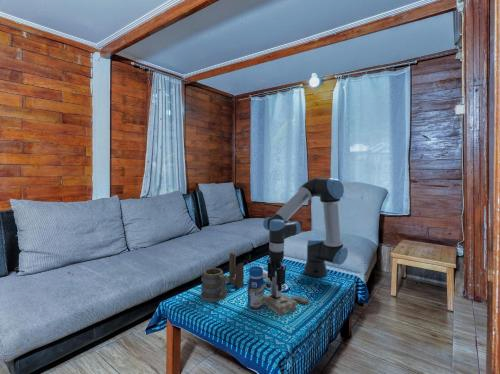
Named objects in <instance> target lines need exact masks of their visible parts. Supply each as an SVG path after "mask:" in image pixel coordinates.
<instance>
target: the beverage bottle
mask: <svg viewBox="0 0 500 374" xmlns="http://www.w3.org/2000/svg"><path fill="white" fill-rule="evenodd" d="M248 269H249V271H248V274H249V277H248V278H247V279H248V280H247V304H246V305H247V309H248V310H249V311H250V312H251V311H252V312H261V311H263V309H264V307H265V304H264V295H265V285H264V284H265V279H263V278H262V275H263V269H264V268H263V269H262V268H261V267H259V266H250V267H249V268H248Z"/></svg>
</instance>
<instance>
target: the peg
mask: <svg viewBox="0 0 500 374" xmlns="http://www.w3.org/2000/svg"><path fill="white" fill-rule="evenodd" d="M276 284H277V276H276V275H275V276H272V298H273V299H278V298H279V297H276Z"/></svg>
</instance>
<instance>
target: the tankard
mask: <svg viewBox="0 0 500 374" xmlns="http://www.w3.org/2000/svg"><path fill="white" fill-rule="evenodd" d="M228 276H229V275H225V274H224V271H223V270H222V269H221V268H217V267H210V268H205V269H204V270H203V272H202V276H201V282H202V285H201V292H200V295H199V298H200V299H201V300H203V301H204V302H205V303H207V302H209V303H216V302H219V301H222V300H225V299H226V297H227V293H228V289H227V286H226V285H227V284H226V282H228V281H229V280H230V279H229V278H228ZM228 283H229V282H228Z"/></svg>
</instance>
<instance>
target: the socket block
mask: <svg viewBox="0 0 500 374" xmlns="http://www.w3.org/2000/svg"><path fill="white" fill-rule="evenodd" d="M297 304H298V302H296V301H294V300H293V299H291V297H290V296H288V295H286V294H284V293H283V292H281V296H279V298H278V299H273V298H272V294H271V293H268V294H264V306H266V307H267V308H269V309H270V310H272V311H274V313H276V314H278V315H279V316H280V315H283V314H286V313H290V312H292V311H294V310H297V308H298V306H297Z"/></svg>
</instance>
